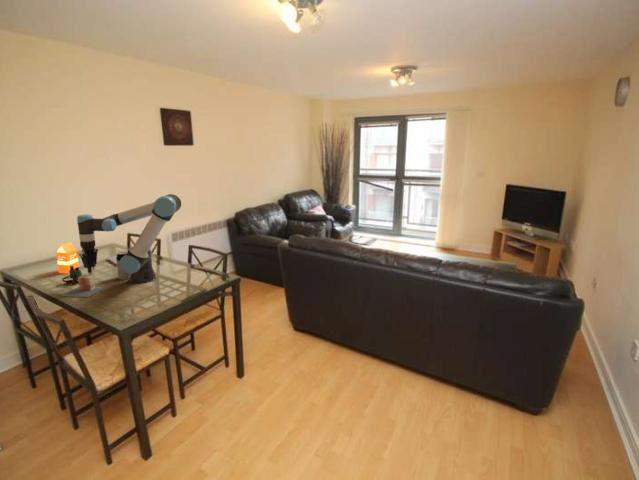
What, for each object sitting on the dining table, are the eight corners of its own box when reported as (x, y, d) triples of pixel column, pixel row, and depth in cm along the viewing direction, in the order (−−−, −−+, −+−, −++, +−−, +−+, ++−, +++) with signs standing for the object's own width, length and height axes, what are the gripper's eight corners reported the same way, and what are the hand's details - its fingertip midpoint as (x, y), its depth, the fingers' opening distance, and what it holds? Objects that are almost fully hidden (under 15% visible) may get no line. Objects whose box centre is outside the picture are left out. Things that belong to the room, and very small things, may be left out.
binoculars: (57, 270, 204) (72, 264, 213) (61, 286, 208) (76, 279, 217) (68, 272, 202) (83, 266, 211) (72, 288, 205) (86, 281, 214)
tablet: (127, 256, 271) (127, 253, 271) (142, 263, 255) (141, 260, 255) (105, 260, 259) (105, 257, 258) (119, 267, 243) (118, 264, 243)
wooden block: (95, 288, 203) (93, 275, 201) (90, 290, 199) (89, 278, 197) (84, 287, 203) (82, 275, 201) (79, 290, 199) (77, 277, 197)
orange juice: (79, 269, 235) (75, 242, 230) (69, 273, 227) (65, 245, 222) (69, 268, 236) (65, 241, 231) (58, 272, 227) (54, 244, 222)
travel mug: (125, 280, 219) (123, 254, 215) (115, 279, 220) (112, 253, 216) (134, 276, 227) (132, 251, 222) (124, 275, 228) (122, 250, 224)
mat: (104, 288, 204) (104, 287, 204) (88, 298, 191) (88, 297, 190) (78, 287, 204) (78, 286, 204) (61, 296, 191) (60, 295, 191)
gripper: (89, 237, 205) (93, 273, 211) (73, 242, 193) (78, 280, 198) (100, 238, 205) (104, 274, 211) (85, 243, 192) (90, 281, 198)
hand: (91, 277), depth 204 cm, fingers closed
